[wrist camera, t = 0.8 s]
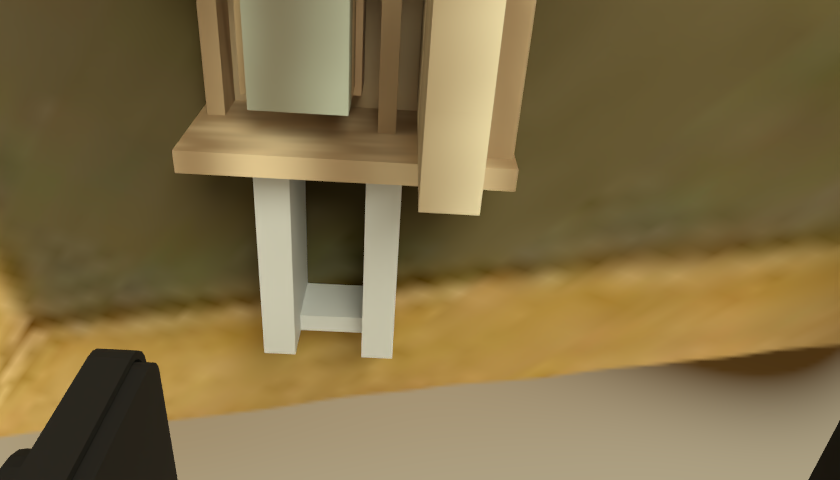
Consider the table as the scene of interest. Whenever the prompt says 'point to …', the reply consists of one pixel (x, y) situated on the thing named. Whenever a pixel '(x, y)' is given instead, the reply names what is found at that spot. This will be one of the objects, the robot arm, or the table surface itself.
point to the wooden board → (456, 101)
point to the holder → (324, 303)
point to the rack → (368, 117)
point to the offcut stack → (300, 54)
